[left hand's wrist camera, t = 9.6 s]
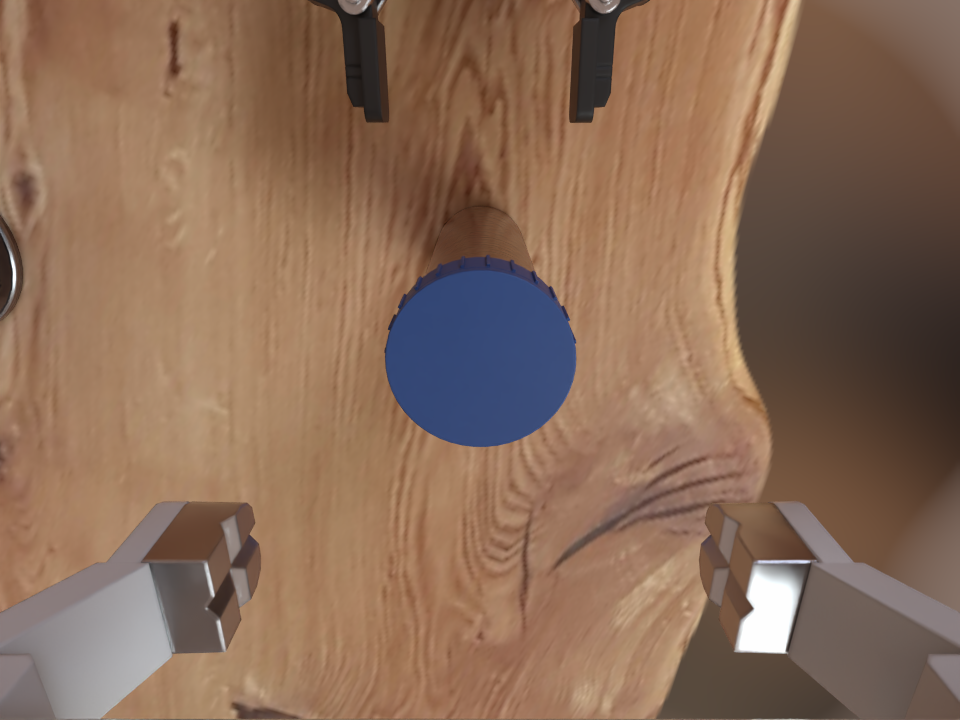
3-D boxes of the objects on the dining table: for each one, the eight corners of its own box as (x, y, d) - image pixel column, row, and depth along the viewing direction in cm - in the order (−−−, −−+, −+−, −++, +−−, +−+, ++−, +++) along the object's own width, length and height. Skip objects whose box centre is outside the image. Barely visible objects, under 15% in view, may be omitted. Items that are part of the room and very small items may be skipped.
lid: (589, 394, 20) (599, 419, 18) (427, 441, 21) (422, 469, 19) (542, 229, 18) (548, 240, 16) (363, 287, 19) (352, 303, 17)
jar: (534, 278, 34) (578, 404, 19) (453, 303, 34) (432, 446, 19) (509, 193, 32) (535, 258, 17) (424, 222, 33) (376, 309, 18)
